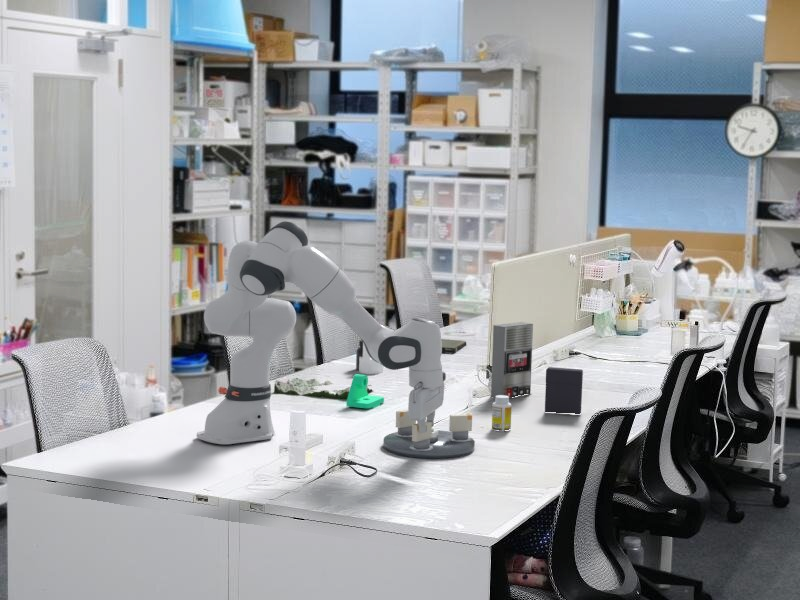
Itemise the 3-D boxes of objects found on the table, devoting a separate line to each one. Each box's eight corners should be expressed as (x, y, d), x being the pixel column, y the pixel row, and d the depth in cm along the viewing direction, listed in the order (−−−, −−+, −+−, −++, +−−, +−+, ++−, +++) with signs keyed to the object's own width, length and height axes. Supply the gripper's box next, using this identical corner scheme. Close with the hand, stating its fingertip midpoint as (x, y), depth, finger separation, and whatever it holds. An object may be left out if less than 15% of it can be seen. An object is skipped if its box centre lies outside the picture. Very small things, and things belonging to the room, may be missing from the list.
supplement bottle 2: (509, 428, 348) (511, 394, 347) (511, 433, 342) (512, 398, 341) (490, 428, 348) (492, 394, 347) (492, 432, 342) (493, 398, 341)
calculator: (581, 416, 367) (583, 369, 365) (579, 419, 363) (581, 371, 361) (546, 413, 370) (548, 366, 368) (544, 416, 366) (546, 368, 364)
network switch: (402, 357, 469) (402, 345, 468) (411, 348, 492) (411, 336, 491) (460, 360, 465) (460, 348, 464) (467, 351, 488) (467, 339, 487)
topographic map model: (318, 377, 423) (318, 364, 423) (394, 385, 413) (394, 370, 413) (273, 395, 390) (274, 381, 390) (355, 404, 380) (356, 388, 380)
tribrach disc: (431, 464, 306) (431, 444, 305) (364, 446, 323) (364, 427, 322) (493, 448, 323) (493, 430, 323) (426, 432, 341) (427, 415, 340)
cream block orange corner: (408, 430, 333) (409, 408, 332) (418, 433, 329) (419, 410, 329) (392, 433, 329) (392, 410, 328) (402, 436, 326) (403, 413, 325)
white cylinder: (376, 376, 422) (377, 343, 420) (354, 373, 426) (355, 341, 424) (388, 372, 430) (389, 340, 428) (366, 370, 434) (367, 338, 432)
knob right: (452, 440, 322) (453, 417, 322) (447, 436, 327) (448, 413, 326) (473, 439, 324) (473, 416, 323) (468, 435, 328) (468, 413, 327)
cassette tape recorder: (503, 403, 384) (506, 327, 381) (490, 400, 389) (492, 325, 386) (532, 398, 393) (535, 324, 390) (518, 395, 398) (521, 321, 395)
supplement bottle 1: (378, 373, 432) (379, 340, 430) (367, 375, 426) (368, 342, 425) (363, 370, 436) (363, 338, 434) (352, 373, 430) (352, 340, 429)
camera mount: (368, 412, 367) (368, 379, 365) (346, 409, 370) (346, 377, 369) (385, 405, 377) (385, 373, 376) (363, 402, 381) (364, 371, 379)
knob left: (422, 443, 318) (423, 420, 317) (435, 446, 315) (435, 423, 314) (407, 447, 313) (408, 423, 313) (420, 450, 311) (420, 426, 310)
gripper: (425, 387, 302) (425, 439, 303) (447, 372, 321) (448, 422, 323) (401, 385, 304) (402, 438, 305) (425, 371, 323) (426, 420, 325)
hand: (426, 429), depth 314 cm, fingers closed on knob left, 5 cm apart
